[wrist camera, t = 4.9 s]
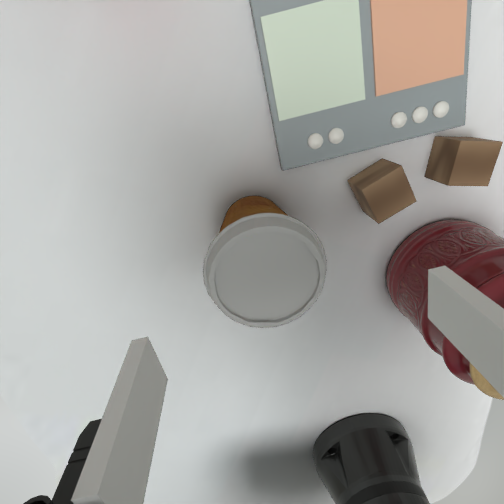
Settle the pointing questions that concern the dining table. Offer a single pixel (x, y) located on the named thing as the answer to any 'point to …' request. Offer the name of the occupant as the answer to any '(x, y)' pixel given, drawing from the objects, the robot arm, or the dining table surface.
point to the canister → (460, 262)
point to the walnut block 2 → (462, 160)
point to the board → (361, 72)
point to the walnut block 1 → (382, 190)
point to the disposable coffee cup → (264, 265)
